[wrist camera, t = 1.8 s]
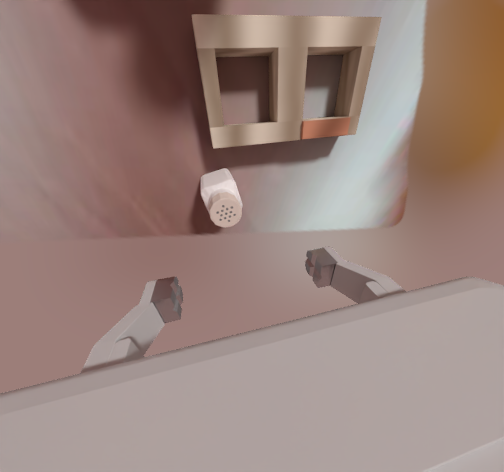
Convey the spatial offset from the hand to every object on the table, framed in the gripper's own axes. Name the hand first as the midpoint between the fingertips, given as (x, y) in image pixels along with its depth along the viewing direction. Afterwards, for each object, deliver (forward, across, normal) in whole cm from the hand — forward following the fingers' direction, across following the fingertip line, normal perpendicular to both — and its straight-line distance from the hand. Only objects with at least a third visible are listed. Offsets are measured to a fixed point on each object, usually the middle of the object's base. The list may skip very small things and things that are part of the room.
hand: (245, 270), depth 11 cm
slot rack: (+18, -8, -10) cm, 22 cm away
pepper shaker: (+18, 0, 0) cm, 18 cm away
